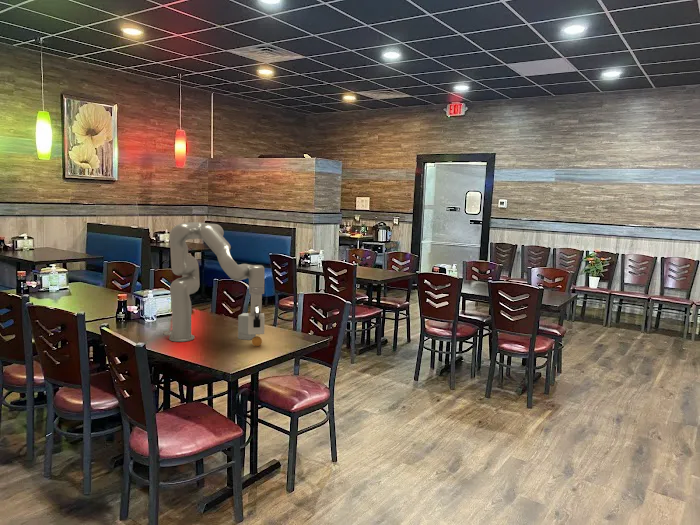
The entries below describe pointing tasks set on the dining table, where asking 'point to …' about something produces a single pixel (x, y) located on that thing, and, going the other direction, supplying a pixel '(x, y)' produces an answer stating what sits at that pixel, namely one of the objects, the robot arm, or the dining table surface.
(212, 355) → the dining table surface
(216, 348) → the dining table surface
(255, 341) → the ball
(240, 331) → the supplement box
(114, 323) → the dining table surface
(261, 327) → the gray block
